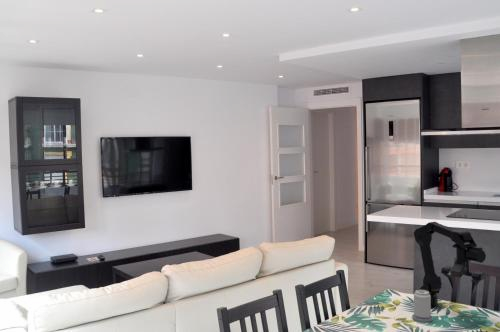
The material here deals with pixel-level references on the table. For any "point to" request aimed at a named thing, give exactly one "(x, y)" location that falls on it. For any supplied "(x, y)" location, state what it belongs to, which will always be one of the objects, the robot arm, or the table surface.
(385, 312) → the table surface
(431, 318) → the coaster
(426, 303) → the can
